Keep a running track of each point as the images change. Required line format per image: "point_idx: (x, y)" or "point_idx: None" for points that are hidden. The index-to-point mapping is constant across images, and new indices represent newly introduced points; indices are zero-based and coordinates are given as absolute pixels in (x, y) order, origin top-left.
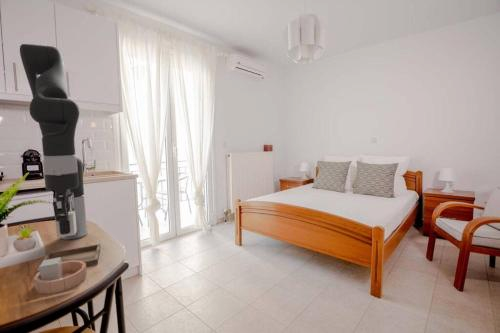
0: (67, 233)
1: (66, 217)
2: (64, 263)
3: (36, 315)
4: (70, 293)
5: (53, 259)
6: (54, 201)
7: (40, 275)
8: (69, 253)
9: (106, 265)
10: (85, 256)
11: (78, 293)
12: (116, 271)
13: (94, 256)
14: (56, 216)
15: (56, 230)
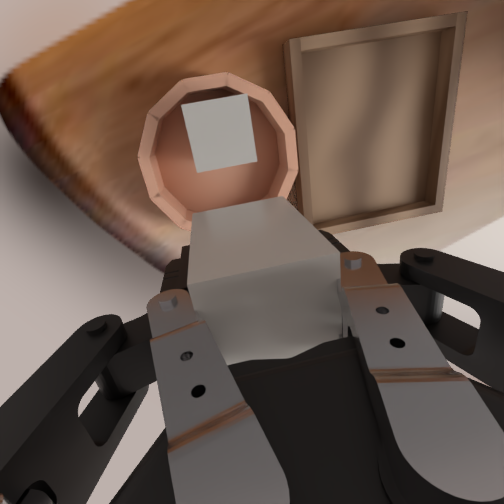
0: None
1: (97, 405)
2: (286, 150)
3: (42, 153)
4: (145, 206)
5: (242, 137)
6: (176, 466)
7: (222, 87)
8: (435, 105)
9: None
10: (378, 176)
11: (140, 228)
12: None
13: (363, 207)
14: (45, 373)
15: (192, 230)
